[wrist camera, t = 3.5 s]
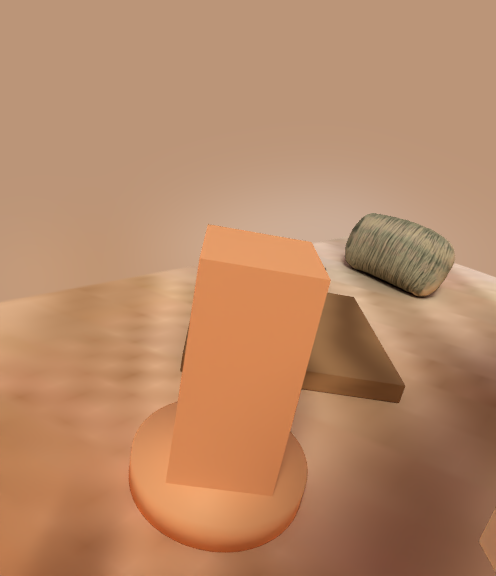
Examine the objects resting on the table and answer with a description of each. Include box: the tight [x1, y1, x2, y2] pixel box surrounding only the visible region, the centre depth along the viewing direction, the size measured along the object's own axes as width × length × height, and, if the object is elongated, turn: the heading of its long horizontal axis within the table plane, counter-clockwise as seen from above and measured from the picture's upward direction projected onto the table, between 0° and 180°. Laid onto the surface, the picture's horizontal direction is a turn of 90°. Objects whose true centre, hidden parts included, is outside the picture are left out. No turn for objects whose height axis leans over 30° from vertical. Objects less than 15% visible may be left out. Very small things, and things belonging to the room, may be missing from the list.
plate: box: [180, 293, 405, 403], centre depth 40 cm, size 16×16×2 cm
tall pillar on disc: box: [129, 224, 331, 552], centre depth 22 cm, size 9×9×12 cm
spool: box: [345, 213, 455, 297], centre depth 59 cm, size 14×10×10 cm
